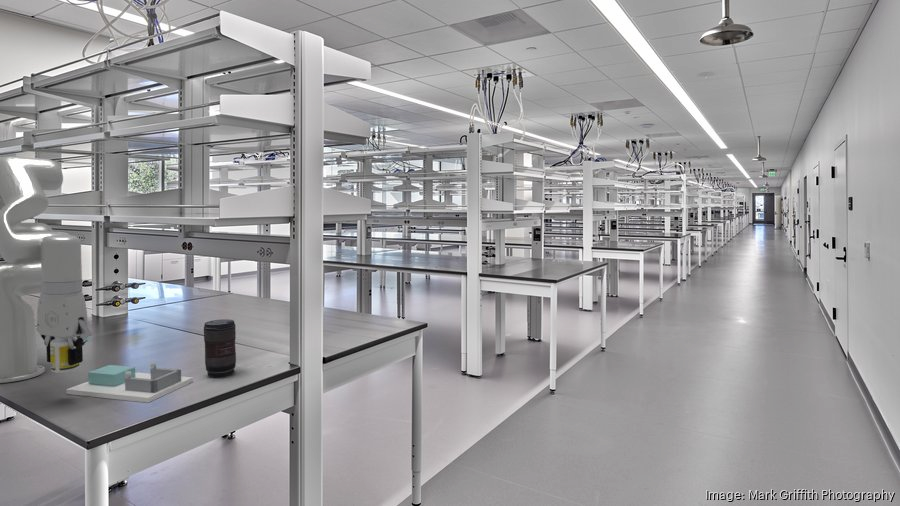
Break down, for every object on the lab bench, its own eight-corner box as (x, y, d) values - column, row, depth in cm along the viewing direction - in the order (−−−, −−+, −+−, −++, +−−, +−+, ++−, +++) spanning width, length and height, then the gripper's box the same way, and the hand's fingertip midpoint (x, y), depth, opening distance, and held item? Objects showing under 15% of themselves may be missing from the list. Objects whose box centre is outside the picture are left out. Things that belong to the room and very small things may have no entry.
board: (66, 393, 125) (65, 371, 124) (118, 374, 140) (117, 354, 139) (148, 402, 120) (147, 379, 119) (192, 381, 134) (192, 361, 134)
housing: (88, 383, 129) (88, 372, 128) (110, 375, 135) (109, 364, 135) (114, 386, 127) (114, 374, 127) (135, 378, 133) (135, 367, 133)
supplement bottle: (84, 366, 123) (83, 327, 122) (68, 374, 118) (67, 333, 117) (62, 365, 123) (60, 326, 122) (45, 373, 118) (43, 332, 117)
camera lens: (240, 368, 146) (238, 318, 144) (232, 378, 138) (230, 324, 136) (210, 370, 144) (208, 318, 143) (201, 379, 136) (199, 325, 135)
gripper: (16, 287, 116) (20, 362, 118) (77, 294, 113) (79, 371, 115) (48, 282, 124) (51, 353, 126) (106, 288, 120) (108, 361, 122)
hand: (65, 361), depth 120 cm, fingers closed on supplement bottle, 5 cm apart
